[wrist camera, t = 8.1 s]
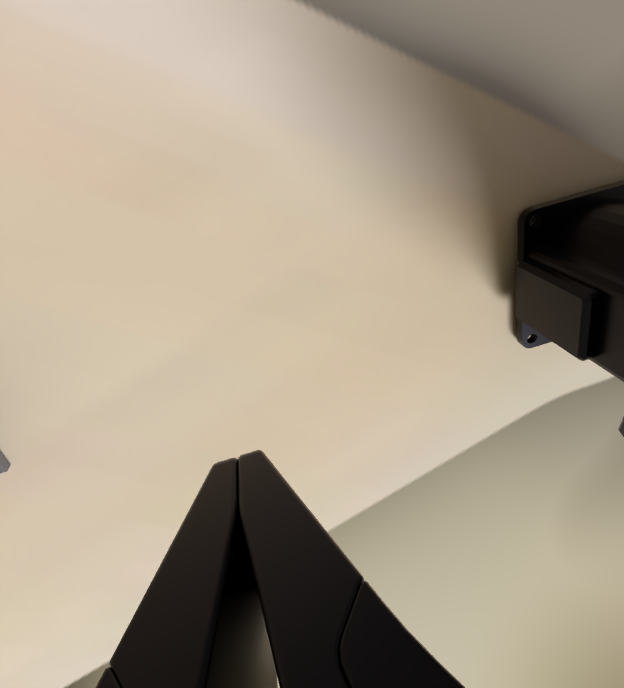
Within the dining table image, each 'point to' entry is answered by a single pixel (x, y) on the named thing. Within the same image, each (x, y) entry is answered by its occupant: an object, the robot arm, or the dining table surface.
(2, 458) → the mat
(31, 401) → the dining table surface
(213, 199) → the dining table surface
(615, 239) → the robot arm
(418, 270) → the dining table surface
